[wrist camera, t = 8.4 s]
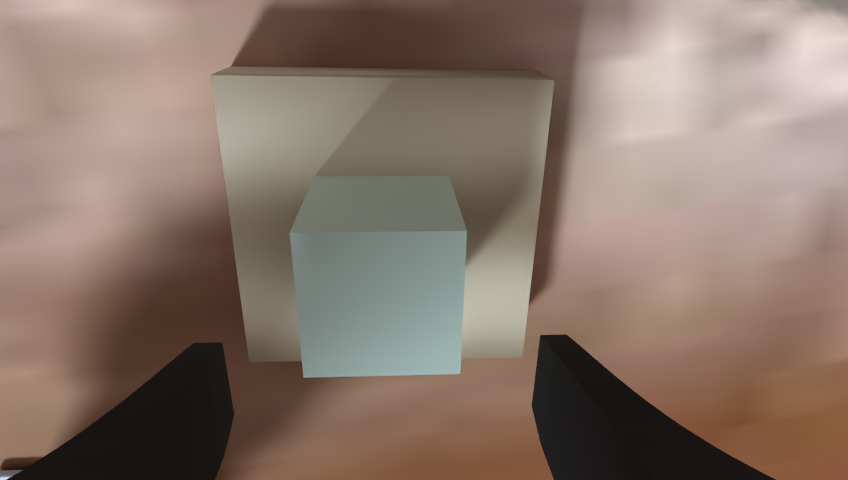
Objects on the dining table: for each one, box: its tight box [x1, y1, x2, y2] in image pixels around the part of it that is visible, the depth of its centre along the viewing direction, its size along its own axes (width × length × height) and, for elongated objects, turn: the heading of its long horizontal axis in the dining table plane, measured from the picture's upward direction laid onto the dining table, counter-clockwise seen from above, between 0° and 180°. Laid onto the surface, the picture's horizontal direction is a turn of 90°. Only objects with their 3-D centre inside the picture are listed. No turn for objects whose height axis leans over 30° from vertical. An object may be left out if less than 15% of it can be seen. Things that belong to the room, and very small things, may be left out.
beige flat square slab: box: [210, 66, 555, 362], centre depth 21 cm, size 11×11×3 cm
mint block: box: [290, 175, 467, 378], centre depth 17 cm, size 5×5×5 cm
